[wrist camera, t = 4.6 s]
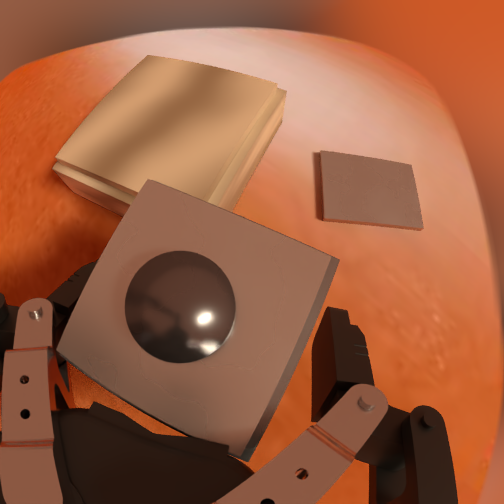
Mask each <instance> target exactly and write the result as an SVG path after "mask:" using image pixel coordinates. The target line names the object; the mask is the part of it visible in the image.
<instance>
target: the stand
mask: <svg viewBox="0 0 504 504" xmlns="http://www.w3.org/2000/svg"><path fill="white" fill-rule="evenodd" d="M286 92H287V91H285V90H282V89H279V88H277V83H274V82H270V81H267V80H264V79H260V78H257V77H253V76H250V75H246V74H242V73H238V72H234V71H230V70H226V69H222V68H218V67H213V66H209V65H204V64H199V63H194V62H189V61H183V60H177V59H171V58H165V57H158V56H151V55H147V56H146V57H145V58H144V59H143V60H142V61H141V62H140V63H139V64H137V65H136V66H135V67H134V68H133V69H132V70H131V71H130V72H129V73H128V74H127V75H126V76H125V77H124V78H123V79H122V80H121V81H120V82H119V83H118V84H117V85H116V86H115V87H114V88H113V89H112V90H111V91H110V92H109V93H108V94H107V95H106V96H105V97H104V98H103V99H102V100H101V102H100V103H99V104H98V105H97V106H96V107H95V108H94V109H93V110H92V112H91V113H90V114H89V115H88V116H87V117H86V119H85V120H84V121H83V122H82V123H81V124H80V126H79V127H78V128H77V129H76V131H75V132H74V133H73V134H72V136H71V137H70V138H69V139H68V141H67V142H66V143H65V145H64V146H63V147H62V149H61V150H60V151H59V153H58V154H57V155H56V157H55V158H56V159H57V160H58V161H57V162H56V164H55V165H54V167H53V168H52V169H53V170H54V171H55V173H56V174H57V175H58V176H59V177H60V178H61V179H62V180H63V181H64V183H65V184H66V185H67V186H68V187H69V188H70V189H71V190H72V191H73V192H74V193H76V194H78V195H80V196H82V197H84V198H86V199H88V200H90V201H92V202H94V203H96V204H98V205H100V206H102V207H104V208H106V209H108V210H110V211H112V212H114V213H116V214H118V215H121V216H123V217H124V215H125V213H126V212H127V210H128V208H129V207H130V205H131V204H132V202H133V201H134V199H135V197H136V196H137V194H138V193H139V191H140V190H141V188H142V187H143V185H144V184H145V182H146V181H147V179H150V180H154V181H157V182H159V183H162V184H164V185H167V186H169V187H172V188H174V189H177V190H179V191H182V192H184V193H187V194H189V195H191V196H194V197H196V198H199V199H201V200H204V201H206V202H208V203H211V204H213V205H216V206H218V207H220V208H223V209H225V210H227V211H230V212H232V210H233V209H234V207H235V205H236V203H237V201H238V199H239V198H240V196H241V194H242V192H243V190H244V188H245V187H246V185H247V183H248V181H249V179H250V178H251V176H252V174H253V172H254V170H255V169H256V167H257V165H258V163H259V162H260V160H261V158H262V156H263V155H264V153H265V151H266V149H267V148H268V146H269V144H270V142H271V141H272V139H273V137H274V135H275V134H276V132H277V130H278V128H279V127H280V125H281V123H282V118H283V111H284V105H285V98H286Z"/></svg>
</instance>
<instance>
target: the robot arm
mask: <svg viewBox="0 0 504 504" xmlns="http://www.w3.org/2000/svg"><path fill="white" fill-rule="evenodd" d="M98 260H99V259H98ZM98 260H97V261H96V262H92V263H89V264H87V265H85V266H83V267H81V268H80V269H79V270H78V271H76V272H75V273H74V275H72V276H71V277H70V278H69V279H68V281H65V282H64V283H63V284H62V285H61V286H60V287H59V288H58V289H56V290H55V291H54V292H53V293H52V294H51V295H50V296H49V297H48V298H47V299H43V298H34V299H30V300H28V301H26V302H25V303H23V304H22V305H21V306H20V307H17V306H10V305H7V303H6V300H5V297H4V295H3V294H2V293H0V392H1V390H2V408H1V415H2V431H1V432H0V504H315V503H316V502H317V501H318V500H319V499H320V498H321V497H322V496H323V495H324V494H325V493H326V492H327V491H328V490H329V489H330V488H331V486H332V485H333V484H334V483H335V482H336V481H337V480H338V479H339V477H340V476H341V475H342V474H343V473H344V472H345V470H346V469H347V468H348V467H349V466H350V464H351V463H352V462H353V460H354V459H356V460H359V461H362V462H365V463H368V464H369V504H458V497H457V489H456V481H455V475H454V468H453V462H452V456H451V451H450V446H449V441H448V436H447V431H446V427H445V422H444V419H443V417H442V416H441V414H440V413H439V412H438V411H437V410H435V409H434V408H432V407H430V406H425V405H422V406H418V407H416V408H414V410H413V411H412V412H411V413H408V412H405V411H403V410H400V409H397V408H394V407H392V406H390V405H388V401H387V399H386V397H385V395H384V394H383V393H382V392H381V391H380V390H379V389H378V388H376V387H375V385H374V380H373V374H372V369H371V364H370V359H369V356H368V350H367V348H366V346H367V345H366V341H365V336H364V334H363V333H362V332H361V330H360V329H359V327H358V326H356V325H351V324H350V320H349V315H348V311H347V310H343V309H338V308H333V307H327V308H326V310H325V313H324V315H323V318H322V320H321V323H320V325H319V328H318V330H317V333H316V335H315V338H314V341H313V345H312V415H311V422H318V423H317V424H316V425H314V426H310V427H309V428H308V429H306V430H305V431H304V432H303V433H302V434H301V435H300V436H299V437H298V438H297V439H295V440H294V441H293V442H292V443H291V444H290V445H289V446H288V447H286V448H285V449H284V450H283V451H282V452H281V453H279V454H278V455H277V456H276V457H275V458H273V459H272V460H271V461H270V462H269V463H267V464H266V465H265V466H264V467H262V468H261V469H260V470H259V471H257V472H256V473H254V472H253V471H252V470H251V469H250V468H249V467H248V466H246V465H245V464H244V463H242V462H241V461H239V460H237V459H236V458H234V457H232V456H230V455H227V454H228V450H229V446H227V445H222V444H218V443H214V442H210V441H206V440H202V439H198V438H195V437H183V436H171V435H161V434H155V433H152V432H150V431H149V430H147V429H146V428H144V427H143V426H141V425H139V424H138V423H136V422H135V421H133V420H132V419H130V418H129V417H128V416H126V415H125V414H123V413H120V412H118V411H116V410H113V409H111V408H108V407H106V406H104V405H102V404H99V403H97V402H95V401H94V402H93V404H92V405H91V407H90V409H85V408H76V406H75V403H74V398H73V392H72V384H71V376H70V366H69V362H68V361H67V360H65V359H64V358H63V357H62V356H60V355H59V354H60V352H58V351H57V350H56V349H57V347H58V344H59V342H60V339H61V337H62V335H63V332H64V330H65V328H66V325H67V323H68V321H69V319H70V317H71V314H72V312H73V310H74V308H75V306H76V304H77V301H78V299H79V297H80V295H81V293H82V291H83V289H84V287H85V285H86V283H87V281H88V279H89V277H90V275H91V273H92V271H93V270H94V268H95V266H96V264H97V262H98Z"/></svg>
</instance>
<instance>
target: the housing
mask: <svg viewBox="0 0 504 504" xmlns="http://www.w3.org/2000/svg"><path fill="white" fill-rule="evenodd" d="M339 261H340V260H339V259H337V258H335V257H333V256H331V255H328V254H326V253H324V252H322V251H319V250H317V249H315V248H313V247H311V246H308V245H306V244H304V243H302V242H299V241H297V240H295V239H292V238H290V237H288V236H286V235H283V234H281V233H279V232H276V231H274V230H272V229H270V228H267V227H265V226H263V225H260V224H258V223H256V222H253V221H251V220H249V219H246V218H244V217H242V216H239V215H237V214H235V213H232V212H230V211H227V210H225V209H223V208H220V207H218V206H216V205H213V204H211V203H208V202H206V201H204V200H201V199H199V198H196V197H194V196H191V195H189V194H187V193H184V192H182V191H179V190H177V189H174V188H172V187H169V186H167V185H164V184H162V183H159V182H157V181H154V180H150V179H147V181H146V182H145V184H144V185H143V187H142V188H141V190H140V191H139V193H138V194H137V196H136V197H135V199H134V201H133V202H132V204H131V205H130V207H129V208H128V210H127V212H126V213H125V215H124V217H123V218H122V220H121V222H120V223H119V225H118V227H117V228H116V230H115V232H114V233H113V235H112V237H111V239H110V240H109V242H108V244H107V246H106V247H105V249H104V251H103V253H102V255H101V256H100V258H99V260H98V262H97V264H96V266H95V268H94V270H93V271H92V273H91V275H90V277H89V279H88V281H87V283H86V285H85V287H84V289H83V291H82V293H81V295H80V297H79V299H78V301H77V304H76V306H75V308H74V310H73V312H72V314H71V317H70V319H69V321H68V323H67V325H66V328H65V330H64V332H63V335H62V337H61V339H60V342H59V344H58V347H57V349H56V350H57V351H58V352H60V354H59V355H60V356H62V357H63V358H64V359H65V360H67V361H68V362H69V363H70V364H72V365H73V366H74V367H76V368H77V369H78V370H80V371H81V372H82V373H84V374H85V375H86V376H88V377H89V378H91V379H92V380H93V381H95V382H96V383H98V384H99V385H101V386H102V387H103V388H105V389H106V390H108V391H109V392H111V393H112V394H114V395H115V396H117V397H119V398H120V399H122V400H123V401H125V402H126V403H128V404H130V405H131V406H133V407H135V408H136V409H138V410H140V411H141V412H143V413H145V414H147V415H148V416H150V417H152V418H154V419H155V420H157V421H159V422H161V423H163V424H165V425H166V426H168V427H170V428H172V429H174V430H176V431H178V432H180V433H182V434H184V435H186V436H188V437H195V438H198V439H202V440H206V441H210V442H214V443H218V444H222V445H227V446H229V450H228V455H231V456H233V457H236V458H238V459H241V460H243V461H246V462H249V460H250V458H251V456H252V454H253V453H254V451H255V449H256V447H257V445H258V443H259V441H260V440H261V438H262V436H263V434H264V432H265V430H266V428H267V426H268V424H269V422H270V420H271V418H272V416H273V414H274V412H275V410H276V408H277V406H278V404H279V402H280V400H281V398H282V396H283V394H284V392H285V390H286V388H287V386H288V384H289V382H290V379H291V377H292V375H293V373H294V371H295V369H296V366H297V364H298V362H299V360H300V358H301V355H302V353H303V351H304V348H305V346H306V344H307V342H308V339H309V337H310V335H311V332H312V330H313V327H314V325H315V323H316V320H317V318H318V315H319V313H320V310H321V308H322V305H323V303H324V300H325V298H326V295H327V293H328V290H329V288H330V285H331V282H332V280H333V277H334V274H335V272H336V269H337V266H338V264H339Z"/></svg>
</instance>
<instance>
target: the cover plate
mask: <svg viewBox="0 0 504 504" xmlns="http://www.w3.org/2000/svg"><path fill="white" fill-rule="evenodd" d="M319 160H320V175H321V193H322V216H323V221H327V222H338V223H349V224H360V225H370V226H380V227H389V228H399V229H408V230H417V231H421V230H422V229H423V222H422V215H421V210H420V204H419V199H418V193H417V188H416V183H415V179H414V174H413V170H412V166H411V165H409V164H404V163H399V162H393V161H388V160H382V159H377V158H371V157H364V156H358V155H351V154H344V153H337V152H329V151H320V153H319Z"/></svg>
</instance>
